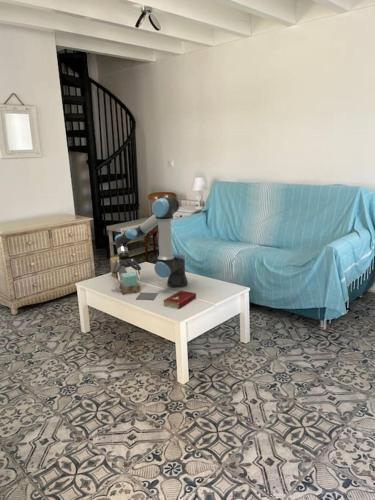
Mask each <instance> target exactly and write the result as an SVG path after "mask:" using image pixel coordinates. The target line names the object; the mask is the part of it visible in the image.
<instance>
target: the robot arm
mask: <svg viewBox="0 0 375 500" xmlns="http://www.w3.org/2000/svg"><path fill="white" fill-rule="evenodd" d="M180 205H181V204H180V201H179V199H178V198H177V197H175V196H167V197H160V198H158V199H156V200H154V202H152V205H151V211H152V215H151V216H150V217H148V218H147V219H146V220H145V221H144V222H142V223H141V224H140V225H138V227H135V228H134V227H129V228H128V229H127V230H126V231H124V233H121V234H120V233H119V234H117V235H116V236H115V237H114V243H115V246H116V250H117V257H118V256H119V261H117V260H116V261H115V266H114V269H113V274H114V273H115V274H116V278H115V279H117V278H118V279H117V280H118V283H121V280H120V277H119V272H118V271H119V270H120V268H121V267H122V266H124V267H127V266H128V267H131V268H133V270H135V272H136V273H135V274H136V275H137V281H138V280H140V273H141V272H140V271H142V267H141V266H140V264H139V263H138V262H137V261H136V260H135V258H134V257H133V258H130V254H129V249H128V246H127V245H128V244H130V243H131V241H133V240H137V239H140V238H144V237H146V236H147V234H148V233H149V232H150V231H152V230H153V229H154V228H155V227H156V226H158V227H157V228H158V230H157V231H158V250H159V251H158V252H159V253H158V256H157V257H156V259H157V260H156V263H155V265H154V267H153V268H154V272H155V274H156V275H157V276H158V277H160V278H163V279H164V278H167V280H166V285H167V286H168V287H170V288H184V287H187V286H189V285H188V284H189V281H188V278H187V275H186V259H185V254H183V253H179V252H178V253H176V252H174V253H173V251H172V249H173V248H172V247H173V246H172V220H173V219H174V214H175V213H177V212H178V211H179V209H180ZM118 263H120V266H119V267H118V269H117V270H116V267H117V264H118ZM115 270H116V271H115Z"/></svg>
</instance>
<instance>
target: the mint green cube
mask: <svg viewBox="0 0 375 500" xmlns="http://www.w3.org/2000/svg"><path fill="white" fill-rule="evenodd" d="M121 277H122V280H121V283H122V284H123V285H124V287H128V286H135V285H137V282H138V278H137V273H135V272H134V271H130V272H127V273H122V274H121Z"/></svg>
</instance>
